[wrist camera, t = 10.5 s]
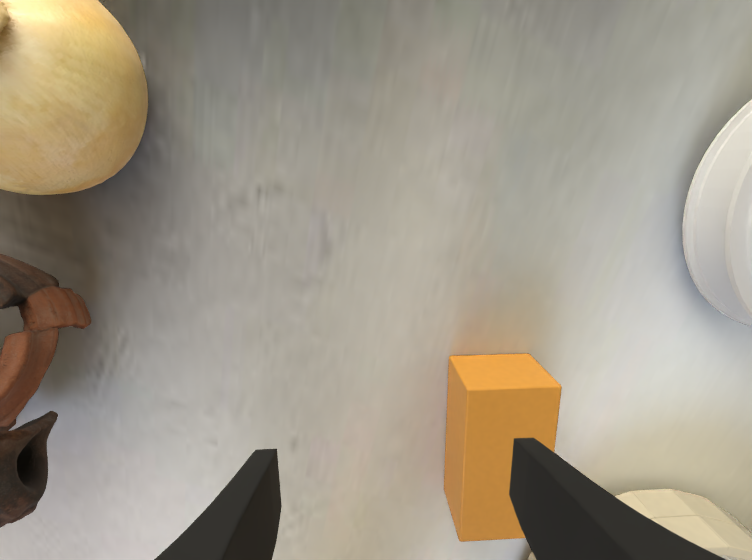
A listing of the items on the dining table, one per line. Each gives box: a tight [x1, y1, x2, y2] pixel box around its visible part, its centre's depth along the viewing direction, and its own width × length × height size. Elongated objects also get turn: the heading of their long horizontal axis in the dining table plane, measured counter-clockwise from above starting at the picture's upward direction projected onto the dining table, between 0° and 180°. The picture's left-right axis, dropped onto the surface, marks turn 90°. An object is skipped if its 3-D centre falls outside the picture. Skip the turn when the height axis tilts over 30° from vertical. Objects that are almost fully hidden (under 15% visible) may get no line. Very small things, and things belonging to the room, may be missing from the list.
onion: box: [0, 0, 148, 195], centre depth 14 cm, size 8×8×7 cm
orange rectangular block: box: [444, 353, 561, 542], centre depth 21 cm, size 8×4×4 cm, turn 1°
